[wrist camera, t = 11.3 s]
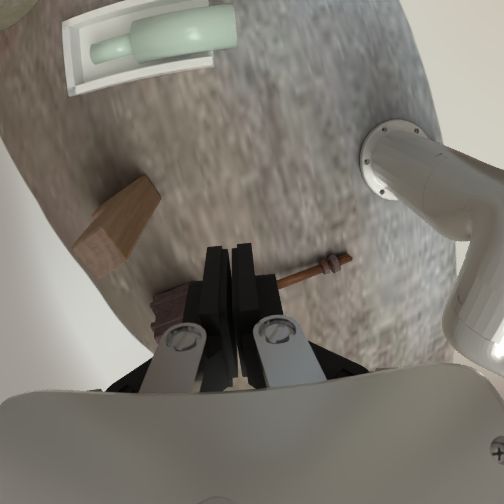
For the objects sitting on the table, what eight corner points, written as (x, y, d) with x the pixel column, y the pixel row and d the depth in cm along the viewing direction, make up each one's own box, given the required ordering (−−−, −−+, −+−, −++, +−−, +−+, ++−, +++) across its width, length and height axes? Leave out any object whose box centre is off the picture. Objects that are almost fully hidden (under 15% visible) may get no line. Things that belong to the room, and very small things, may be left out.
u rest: (207, -9, 31) (205, -16, 28) (214, 67, 36) (212, 65, 33) (72, 25, 31) (61, 21, 28) (79, 95, 36) (68, 97, 33)
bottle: (233, 1, 27) (81, 35, 27) (238, 49, 31) (90, 79, 31) (232, 4, 31) (98, 32, 31) (236, 45, 35) (106, 70, 35)
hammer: (149, 296, 51) (147, 334, 43) (329, 224, 54) (359, 249, 45) (166, 325, 55) (168, 364, 46) (335, 257, 57) (363, 284, 48)
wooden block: (117, 227, 46) (71, 297, 31) (100, 204, 44) (45, 267, 29) (162, 198, 45) (127, 262, 29) (145, 173, 43) (99, 226, 27)
